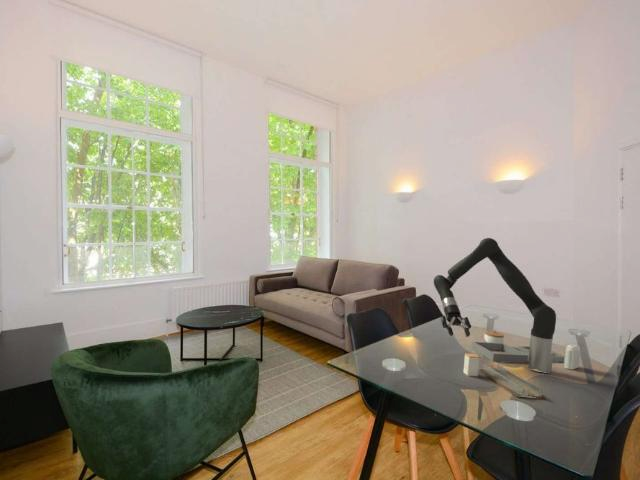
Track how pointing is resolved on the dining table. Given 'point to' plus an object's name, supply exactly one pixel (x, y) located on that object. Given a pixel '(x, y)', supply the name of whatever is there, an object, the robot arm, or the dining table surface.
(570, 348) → the white ridged block
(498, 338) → the lidded jar
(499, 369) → the rail board
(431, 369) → the dining table surface
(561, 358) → the small tray rim
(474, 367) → the block
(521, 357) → the large tray rim
